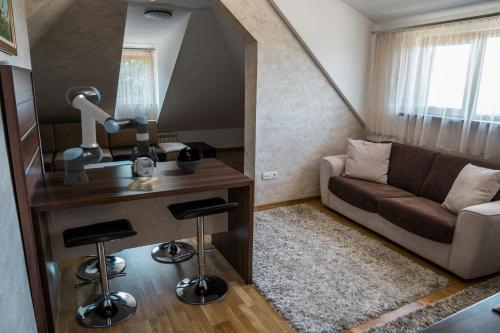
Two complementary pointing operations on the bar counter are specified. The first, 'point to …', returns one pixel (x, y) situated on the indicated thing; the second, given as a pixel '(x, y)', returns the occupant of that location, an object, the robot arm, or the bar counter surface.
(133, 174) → the camera
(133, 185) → the base
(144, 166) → the light bulb box
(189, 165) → the coal bowl
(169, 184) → the bar counter surface
